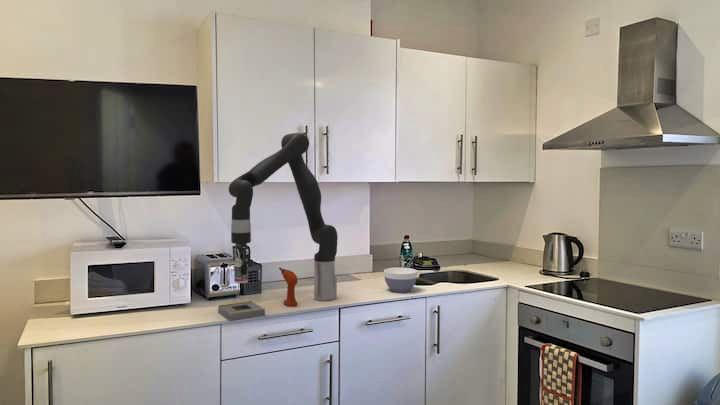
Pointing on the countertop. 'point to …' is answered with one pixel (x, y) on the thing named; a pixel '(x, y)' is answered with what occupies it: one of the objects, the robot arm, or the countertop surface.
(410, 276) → the bowl
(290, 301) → the toy drill
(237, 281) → the pill bottle
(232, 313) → the grey flat square block
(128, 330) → the countertop surface
